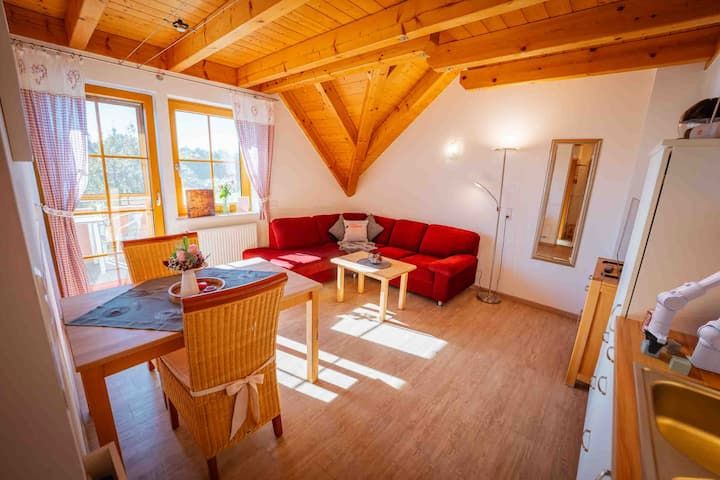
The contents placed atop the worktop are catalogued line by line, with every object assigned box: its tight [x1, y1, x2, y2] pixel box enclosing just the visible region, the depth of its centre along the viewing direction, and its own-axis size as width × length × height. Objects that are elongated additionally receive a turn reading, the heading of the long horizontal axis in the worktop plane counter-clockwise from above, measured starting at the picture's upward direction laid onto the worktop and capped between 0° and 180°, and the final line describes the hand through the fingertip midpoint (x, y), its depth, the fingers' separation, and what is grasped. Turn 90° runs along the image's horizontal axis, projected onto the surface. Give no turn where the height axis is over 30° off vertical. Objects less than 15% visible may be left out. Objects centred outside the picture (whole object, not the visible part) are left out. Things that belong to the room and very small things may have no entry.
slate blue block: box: [640, 338, 662, 359], centre depth 119 cm, size 4×4×4 cm
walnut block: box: [661, 337, 683, 356], centre depth 122 cm, size 4×4×4 cm
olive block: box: [668, 354, 692, 377], centre depth 110 cm, size 4×4×4 cm
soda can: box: [639, 308, 656, 336], centre depth 132 cm, size 5×5×12 cm
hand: (650, 349), depth 119 cm, fingers closed on slate blue block, 4 cm apart
